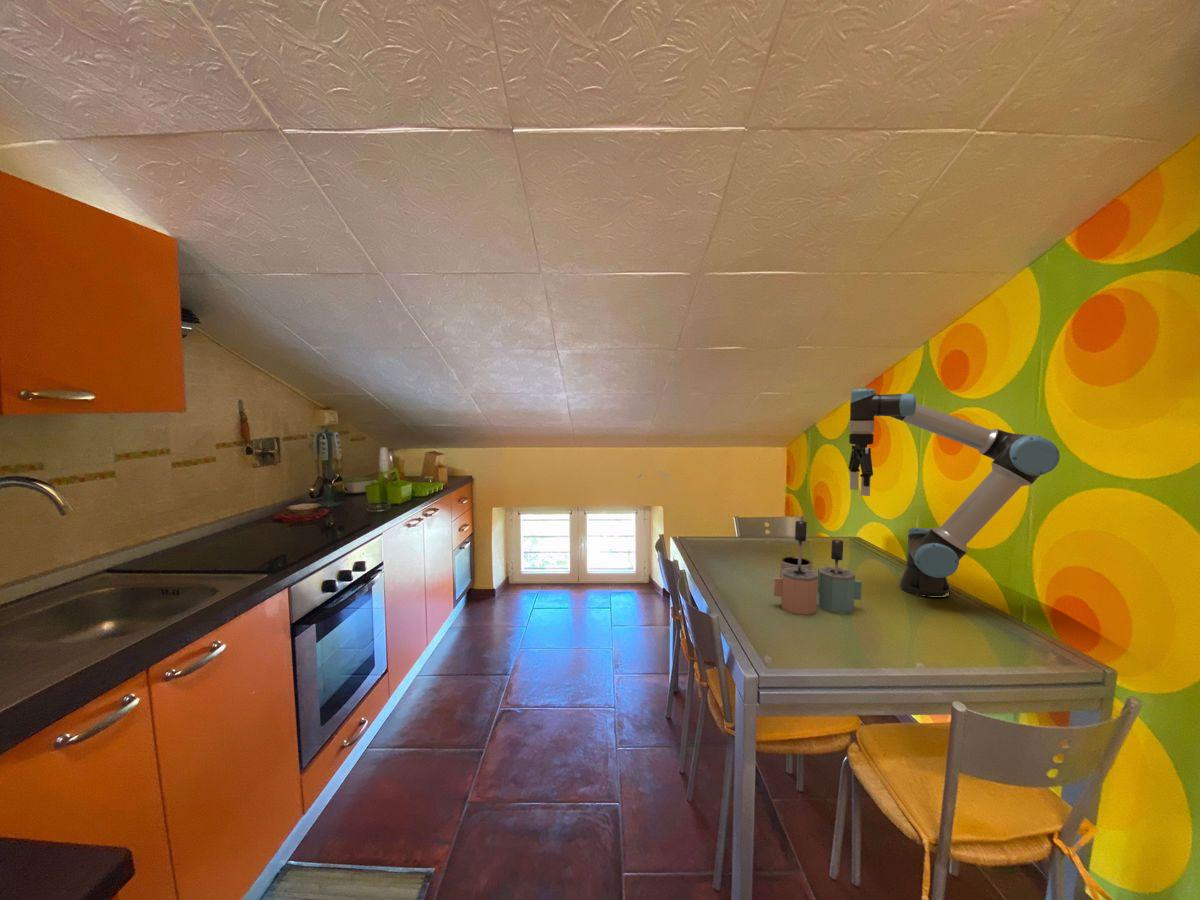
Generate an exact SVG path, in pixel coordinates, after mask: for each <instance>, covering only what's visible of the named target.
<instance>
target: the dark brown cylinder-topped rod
mask: <svg viewBox="0 0 1200 900" xmlns="http://www.w3.org/2000/svg"><path fill="white" fill-rule="evenodd" d="M830 553H831V554H830V555H831V556H830V560H831V559H832V560H833V561H834V567H835V574H838V568H839V561H843V557H844V556H843V555H844V541H843V540H841V539H832V540H831V550H830Z"/></svg>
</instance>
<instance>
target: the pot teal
mask: <svg viewBox="0 0 1200 900" xmlns="http://www.w3.org/2000/svg"><path fill="white" fill-rule="evenodd" d="M862 585H863V584H862V581H861V580H858V579H856V575H855V573H854V572H853V571H852V570H849V569H846V568H843V567H838V574H835V566H823V567H819V568H817V601H816V605H817V606H818V608H819V609H821V610H824V611H826V612H828V613H833V614H841V615H842V614H843V615H847V614H850V613H853V612H854V609H855V608H854V607H855V606H854V605H855V600H858V601H862Z"/></svg>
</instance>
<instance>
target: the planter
mask: <svg viewBox="0 0 1200 900" xmlns="http://www.w3.org/2000/svg"><path fill="white" fill-rule="evenodd" d="M812 563H813V562H812V561H811V560H809V559H808V558H805V557H804V558H803V557H802V558H801V568H805V569H808V570H811V571H813V570H812V567H813V564H812ZM789 567H794V568H798V556H784V557H782V558H781V559H780V574H779V578H782V569H785V568H789Z"/></svg>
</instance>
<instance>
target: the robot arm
mask: <svg viewBox="0 0 1200 900" xmlns="http://www.w3.org/2000/svg"><path fill="white" fill-rule="evenodd" d="M849 404H850V407H849V423H848V424H847V425H848V427H849V432H850V433H849V435H848V436H849V437H848V439H849V440H848V442H849V444H850V445H851V451H850V452H851V453H850V457H849V464H848V470H849V490H851V491H857V490H859V482H860V496H863V497H864V496H865V497H869V496H870V497H871V477H872V476H874V471H873V462H872V455H871V454H872V448H871V447H868V445H869V446H870V445H873V444H874V435H875V434H873V433H874V432H875V417H890V418H893V419H895V420H898V421H902V422H904V423H906V424H909V425H912V426H915V427H917V428H920V429H922V430H925V431H928V432H931V433H932V434H936V435H938V436H941V437H944V438H946V439H950V440H951V441H954V442H957V443H960V444H962V445H965V446H968V447H970V448H973V449H976V450H977V451H978V452H979V454H980V455H982V456H985V457H987V458H990V459H991V460H992V462H991V465H990V466H991V471H990V472H989V473H988V475H987V476H986V477H985V478H984V479H983V480H982V481H981V482H980V483H979V484H978V486H976V487H975V488H974V490H973V491H972V492H971V493H970V494H969V495H968V496H967V497H966V498H965V500H964V501H963V502H962V503H961V504H960V505H959V506H958V507H957V508H956V509H955V511H953V513H952V514H951V515H950V516H949V517H948V518H947V519H946V520H945V521H944V523H942V525H941V526H939V527H933V528H929V527H928V528H926V527H910V528H909V529H908V534H907V552H906V553H907V554H906V566H905V570H904V572H903V573H902V575H901V577H900V581H899V587H901V588H902V589H901V588H900V589H901V590H902V591H904V590H905V591H904V592H906V591H908V592H907V593H909V592H911V593H910V594H912V593H914V594H913V595H915V594H918V595H917V596H919V595H925V596H943V595H945V594H946V593H948V592H949V590H950V591H951V588H950V584H949V582H948V581H949V580H948V579H947V577H951V576H952V575H953V574H954V573H956V572H957V570H958V568H959V566H960V560H961V559H962V558H964V556H965V555H966V554H967V553H968V546H967V545H968V544H969V542H971V541H972V540H973V538H974V537H975V536H976V535H978V533H979V532H980V531H981V530H982V529H983V528H984V527H985V525H987V524H988V523H989V521H991V519H992V518H993V517H994V516H995V515H996V514H997V513H998V512H999V511H1000V509H1002V508H1003V507H1004V505H1005V504H1006V503H1008V502H1009V500H1011V498H1012V497H1013V496H1014V495H1015V494H1016V493H1017V492H1018V491H1019V489H1021V488H1022V487H1025V486H1026V487H1028V486H1032V485H1033V484H1034V483H1035V482H1036V481H1037V480H1038V478H1040V476H1044V475H1045V474H1048V473H1050V472H1052V471H1053V470H1055V468H1056V467H1057V466H1058V464H1059V462H1060V458H1061V457H1060V456H1061V455H1060V451H1059V448H1058V447H1057V445H1056V444H1055V443H1054V442H1053V441H1051V440H1049V439H1047V438H1045V437H1043V436H1040V435H1035V434H1029V435H1028V434H1021V433H1020V434H1019V433H1014V432H1013V433H1012V432H1009V431H1004V430H1001V429H999V428H993V429H989V428H986V427H984V426H980V425H978V424H975V423H972V422H969V421H967V420H964V419H961V418H958V417H955V416H953V415H950V414H947V413H944V412H942V411H939V410H937V409H933V408H930V407H928V406H925V405H922V404H919V403H917V398H916V395H915V394H913V393H896V394H895V393H893V394H889V393H888V394H879V393H878V394H876V389H873V388H859V389H853V390H852V391H851V393H850V402H849ZM860 471H861V474H860ZM859 478H860V481H859Z"/></svg>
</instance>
